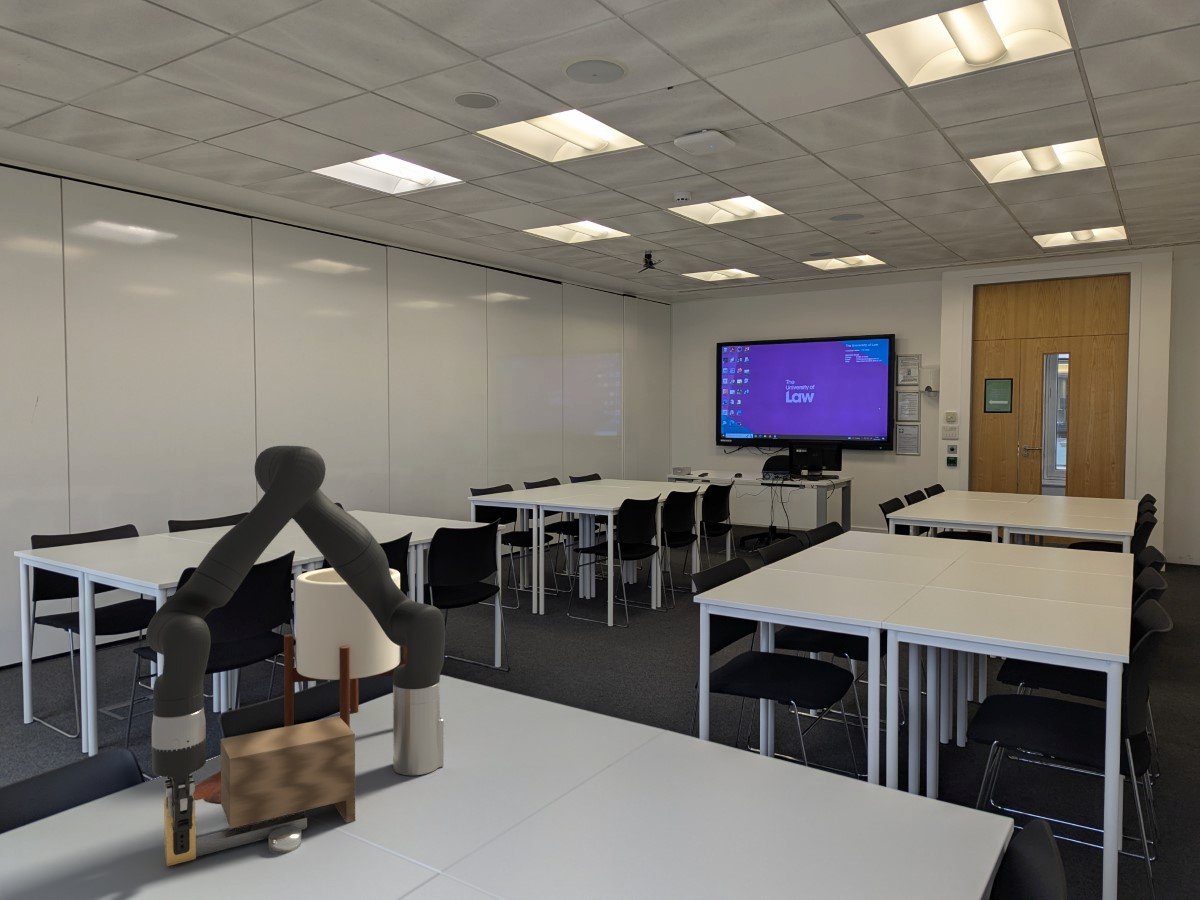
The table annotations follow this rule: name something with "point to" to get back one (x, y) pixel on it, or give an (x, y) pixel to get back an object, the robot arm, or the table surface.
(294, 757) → the walnut cabinet
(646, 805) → the table surface
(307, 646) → the plant pot with stand
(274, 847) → the steel token
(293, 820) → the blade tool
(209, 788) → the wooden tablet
